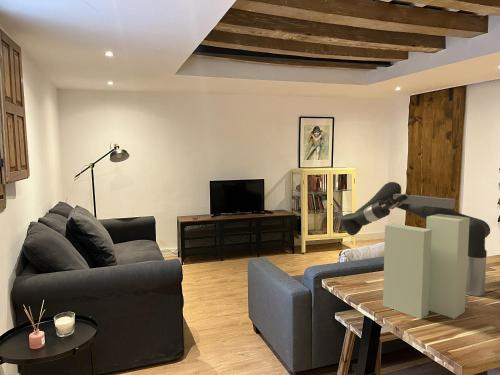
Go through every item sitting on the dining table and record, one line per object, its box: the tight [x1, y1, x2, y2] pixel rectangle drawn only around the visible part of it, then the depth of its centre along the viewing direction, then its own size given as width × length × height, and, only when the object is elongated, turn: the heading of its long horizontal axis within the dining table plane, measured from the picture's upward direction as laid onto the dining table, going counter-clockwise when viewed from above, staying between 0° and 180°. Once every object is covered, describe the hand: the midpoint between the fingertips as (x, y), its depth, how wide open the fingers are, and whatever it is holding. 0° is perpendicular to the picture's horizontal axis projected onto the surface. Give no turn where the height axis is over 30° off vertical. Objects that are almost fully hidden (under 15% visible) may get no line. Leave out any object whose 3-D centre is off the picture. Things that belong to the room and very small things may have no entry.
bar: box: [393, 193, 456, 210], centre depth 152 cm, size 4×24×4 cm, turn 39°
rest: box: [382, 223, 432, 320], centre depth 147 cm, size 6×16×34 cm, turn 39°
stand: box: [425, 214, 470, 319], centre depth 147 cm, size 10×12×38 cm
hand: (408, 195), depth 156 cm, fingers closed on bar, 3 cm apart
